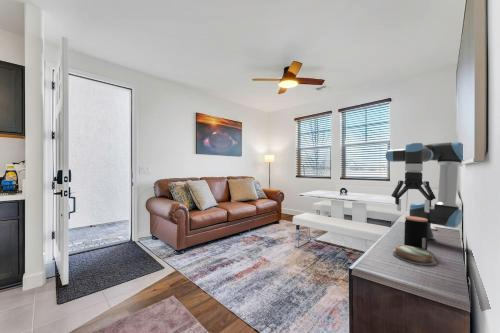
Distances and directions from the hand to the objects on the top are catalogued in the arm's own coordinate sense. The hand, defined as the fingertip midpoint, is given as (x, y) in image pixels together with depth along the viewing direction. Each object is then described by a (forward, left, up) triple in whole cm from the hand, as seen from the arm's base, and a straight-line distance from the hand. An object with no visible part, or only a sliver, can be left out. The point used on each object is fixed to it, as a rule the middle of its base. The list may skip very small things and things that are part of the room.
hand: (412, 211), depth 117 cm
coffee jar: (-12, -6, -24) cm, 27 cm away
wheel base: (+2, +3, -24) cm, 24 cm away
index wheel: (+2, +3, -24) cm, 24 cm away
